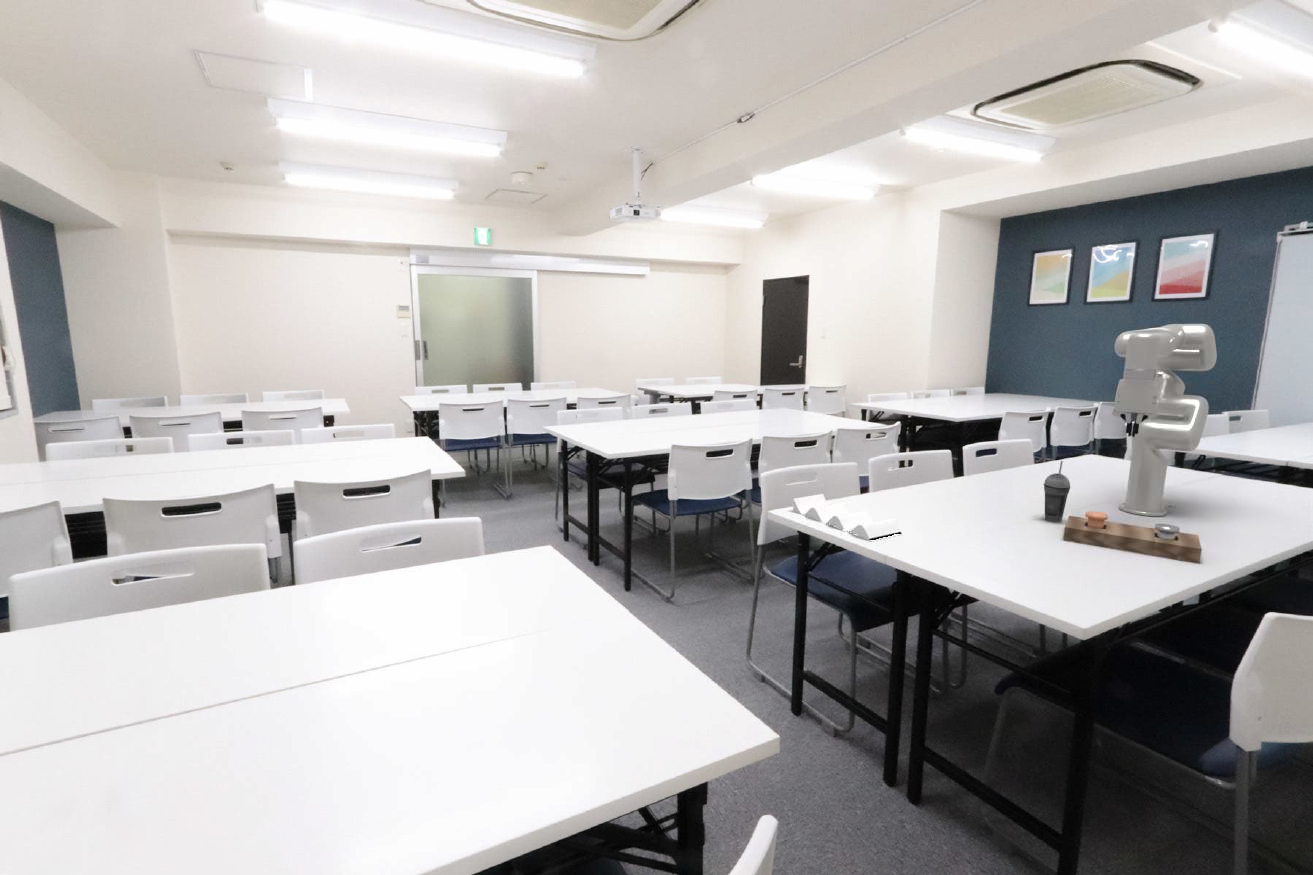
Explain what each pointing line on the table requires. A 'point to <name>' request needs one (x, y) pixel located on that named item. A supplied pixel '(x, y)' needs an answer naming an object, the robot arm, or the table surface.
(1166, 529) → the grey plunger
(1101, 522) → the terracotta plunger
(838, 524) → the file organizer
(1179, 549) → the button board
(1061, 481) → the beverage cup
